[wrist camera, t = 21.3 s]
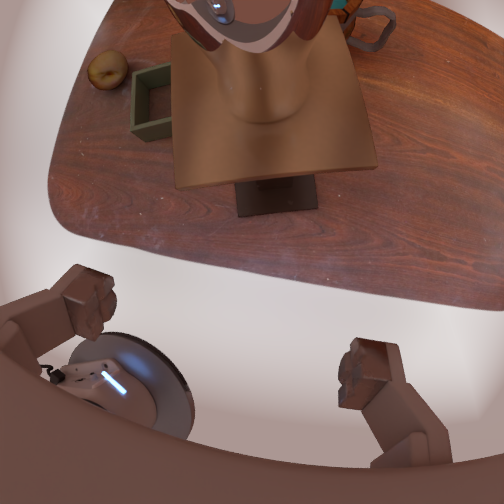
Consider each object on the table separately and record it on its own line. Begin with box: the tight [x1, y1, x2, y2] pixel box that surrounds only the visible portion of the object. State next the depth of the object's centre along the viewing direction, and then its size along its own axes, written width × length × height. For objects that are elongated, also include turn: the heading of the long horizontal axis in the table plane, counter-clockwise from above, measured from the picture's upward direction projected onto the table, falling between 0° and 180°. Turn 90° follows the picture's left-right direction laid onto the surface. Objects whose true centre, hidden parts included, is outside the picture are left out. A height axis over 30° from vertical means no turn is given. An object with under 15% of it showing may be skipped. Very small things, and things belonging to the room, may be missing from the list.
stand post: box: [235, 174, 318, 217], centre depth 32 cm, size 12×12×27 cm
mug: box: [328, 0, 396, 52], centre depth 37 cm, size 20×14×15 cm
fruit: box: [87, 50, 128, 90], centre depth 44 cm, size 8×8×8 cm
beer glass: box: [164, 0, 333, 123], centre depth 11 cm, size 7×7×15 cm
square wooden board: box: [171, 15, 378, 191], centre depth 18 cm, size 13×13×1 cm
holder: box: [130, 62, 172, 142], centre depth 44 cm, size 12×12×6 cm
